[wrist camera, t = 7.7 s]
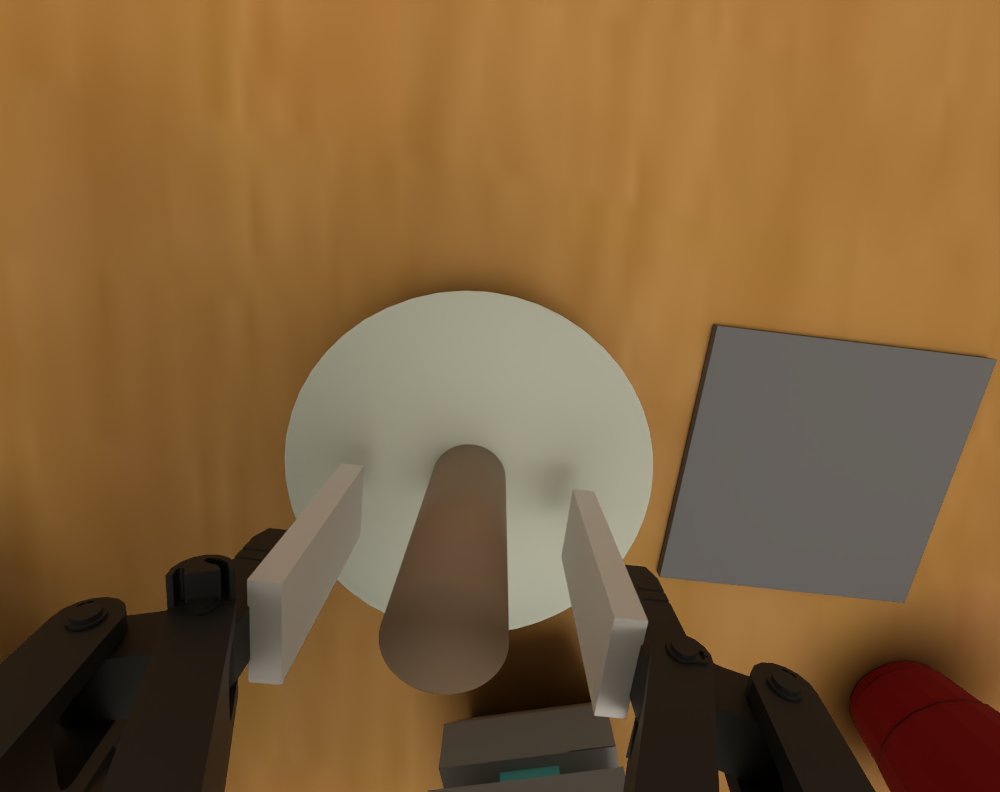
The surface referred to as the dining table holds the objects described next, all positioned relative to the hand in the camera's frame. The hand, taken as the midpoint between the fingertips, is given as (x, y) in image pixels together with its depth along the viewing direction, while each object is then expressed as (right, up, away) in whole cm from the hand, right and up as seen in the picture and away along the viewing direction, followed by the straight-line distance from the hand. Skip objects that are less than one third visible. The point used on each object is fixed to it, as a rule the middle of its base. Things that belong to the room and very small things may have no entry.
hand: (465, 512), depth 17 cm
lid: (0, +1, +3) cm, 4 cm away
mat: (+18, 0, +9) cm, 20 cm away
